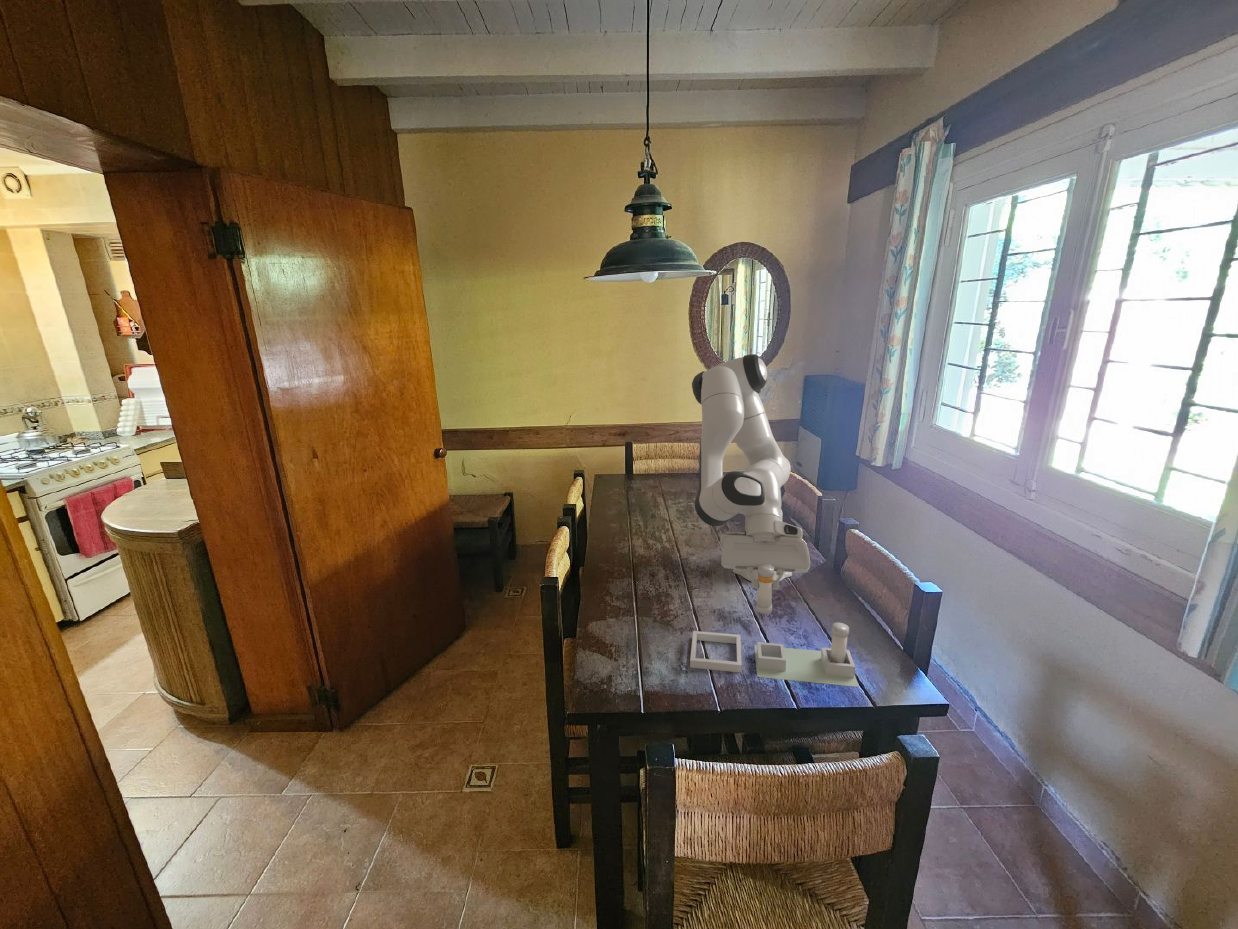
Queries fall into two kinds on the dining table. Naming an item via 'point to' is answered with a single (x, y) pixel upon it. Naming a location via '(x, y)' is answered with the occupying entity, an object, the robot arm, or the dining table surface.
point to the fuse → (839, 642)
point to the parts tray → (716, 663)
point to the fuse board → (803, 665)
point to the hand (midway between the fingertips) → (765, 588)
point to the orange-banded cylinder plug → (765, 588)
